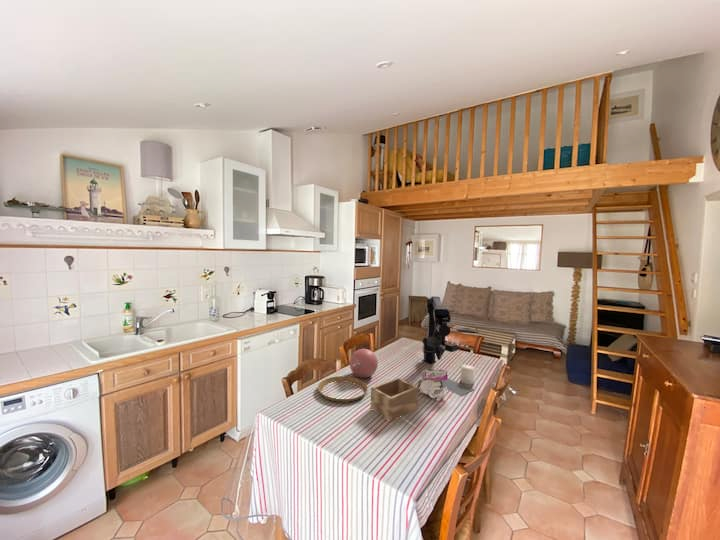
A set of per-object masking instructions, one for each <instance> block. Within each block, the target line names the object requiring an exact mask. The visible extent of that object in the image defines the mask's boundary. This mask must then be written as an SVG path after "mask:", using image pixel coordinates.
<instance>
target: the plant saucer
mask: <svg viewBox="0 0 720 540" xmlns="http://www.w3.org/2000/svg"><path fill="white" fill-rule="evenodd" d="M335 381H348V382H347V383H349V382H352V383H351V384H353V383H355V384H354V385H356V384H357V385H356V386H358V385H359V386H358V387H360V386H361V387H362V388H363V389H362V388H361V387H360V388H361V389H362V390H363V391H364V394H363V393H362V394H361V395H359V396H355V397H352V398H351V397H350V398H349V399H336V398H331V397H328V395H326V394H323V390H324V388H325V387H326V386H325V385H327V384H328V383H331V382H335ZM324 386H325V387H324ZM327 386H328V385H327ZM323 387H324V388H323ZM322 389H323V390H322ZM317 390H318V391H319V394H320V395H321V396H322V397H323V398H325V399H326V400H327V401H330V400H331V402H334V401H336V402H335V403H342V402H345V403H351V402H350V401H352V402H356V401H358V400H359V399H361V398H363V397H364V396H365V395H366V393H367V392H368V386H367V384H366V383H365V382H364V381H363V380H361V379H359V378H356V377H352V376H345V375H343V376H342V375H340V376H338V375H337V376H332V377H328V378H325V379H324V380H321V382H319V384H318V385H317ZM321 391H322V393H321ZM355 400H356V401H355Z"/></svg>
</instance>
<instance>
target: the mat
mask: <svg viewBox="0 0 720 540" xmlns="http://www.w3.org/2000/svg"><path fill="white" fill-rule="evenodd" d="M436 382H440V383H441V385H440V386H439V387H440V388H445V387H447V391H450V392H451V393H453V394H455V395H457V396H458V397H463V396H465V395H468V394H469V393H471V392H472V391H475V389H474V388H472V387H470V386H467V385H466V384H462V383H459V382H457V381H455V380H452V379H450V378H448V380H446V381H436Z"/></svg>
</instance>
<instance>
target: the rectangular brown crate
mask: <svg viewBox="0 0 720 540" xmlns="http://www.w3.org/2000/svg"><path fill="white" fill-rule="evenodd" d="M418 393H419V386H417V385H414V384H412V383H410V382H408V381H406V380H404V379H401V378H400V377H397V378H394V379H392V380H388V381H385V382H384V383H380V384H378V385H375V386H373V387H371V389H370V410H371V409H373V410H374V411H376V412H377V413H379V414H380V415H382V416H383V417H385V418H386V419H388V420H389V421H391V420H393V419H396V418H398V417H400V416H402V417H403V416H404V415H407V414H408V413H410V412H413V411H414V410H417V409H418V396H419V394H418ZM374 411H373V412H374ZM377 413H376V414H377ZM380 415H379V416H380ZM383 417H382V418H383ZM400 418H401V417H400ZM386 419H385V420H386ZM398 419H399V418H398ZM396 420H397V419H396ZM389 421H388V422H389Z"/></svg>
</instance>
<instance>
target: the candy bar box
mask: <svg viewBox="0 0 720 540" xmlns="http://www.w3.org/2000/svg"><path fill="white" fill-rule="evenodd" d="M448 379H449V378H448V370H447V369H423V370H422V371H421V380H424V381H425V380H433V381H435V382H437V381H446V380H448Z"/></svg>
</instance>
